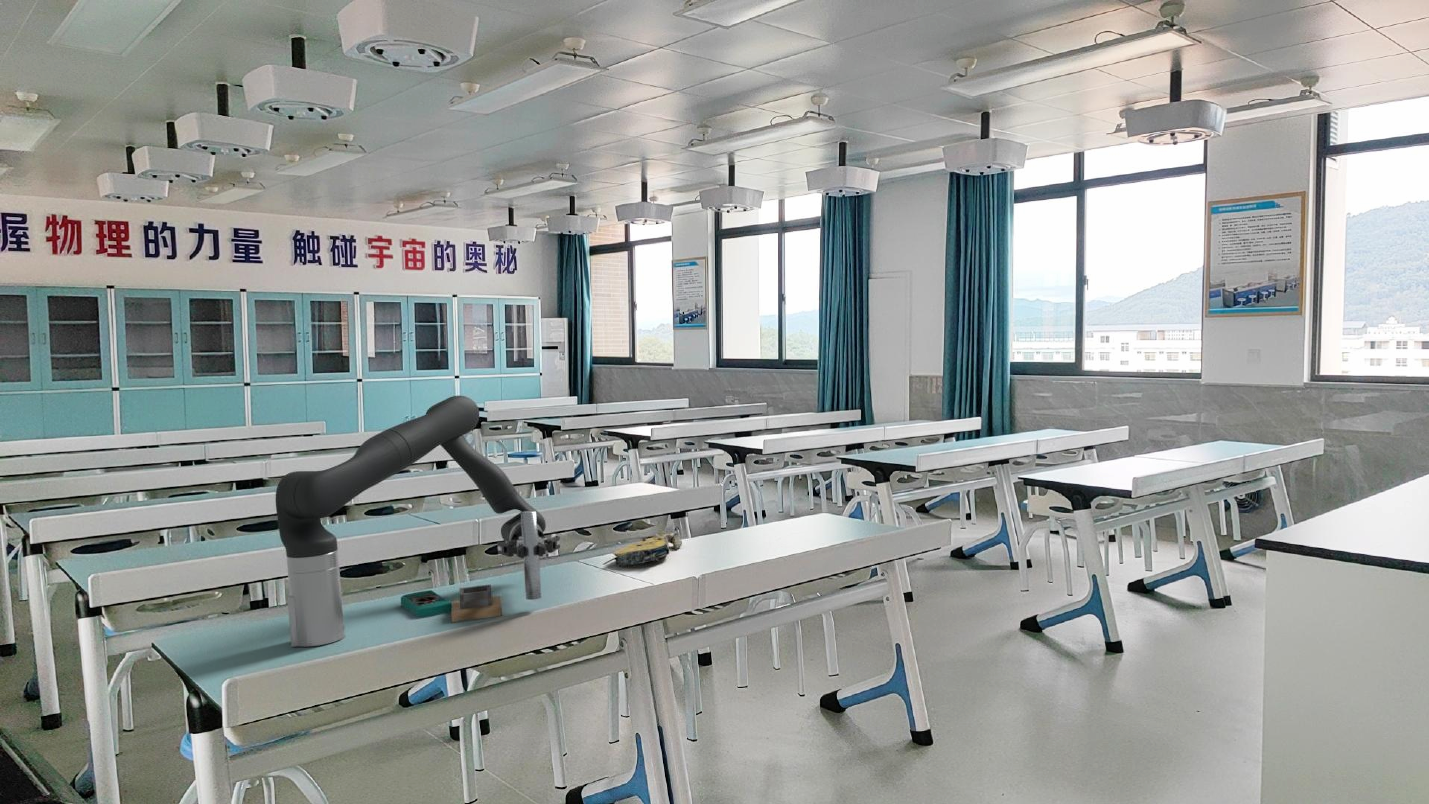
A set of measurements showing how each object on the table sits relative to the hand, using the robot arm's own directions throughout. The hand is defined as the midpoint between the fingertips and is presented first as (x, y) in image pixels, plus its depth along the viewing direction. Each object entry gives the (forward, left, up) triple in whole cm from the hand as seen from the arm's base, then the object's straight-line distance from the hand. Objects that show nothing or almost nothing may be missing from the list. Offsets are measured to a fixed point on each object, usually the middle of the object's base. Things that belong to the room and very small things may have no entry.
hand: (531, 552), depth 193 cm
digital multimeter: (-22, +17, -13) cm, 31 cm away
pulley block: (+33, +43, -13) cm, 56 cm away
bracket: (-12, +7, -13) cm, 19 cm away
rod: (0, +3, -10) cm, 10 cm away
